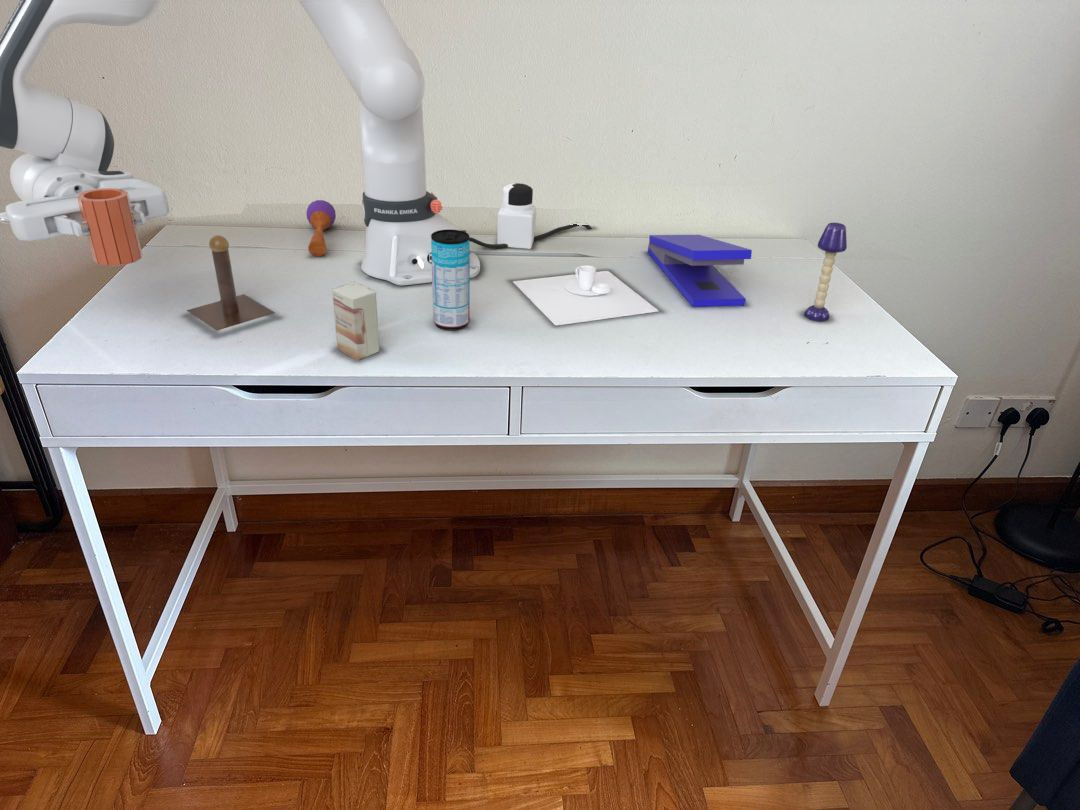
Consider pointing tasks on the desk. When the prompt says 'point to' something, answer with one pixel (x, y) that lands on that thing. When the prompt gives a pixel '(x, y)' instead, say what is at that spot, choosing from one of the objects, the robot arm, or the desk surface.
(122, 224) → the orange slatted tube
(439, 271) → the beverage can
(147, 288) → the desk surface
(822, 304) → the toy lamp
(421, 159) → the robot arm
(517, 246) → the medicine bottle
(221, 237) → the holder
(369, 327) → the white product box
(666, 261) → the stapler
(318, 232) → the kendama
